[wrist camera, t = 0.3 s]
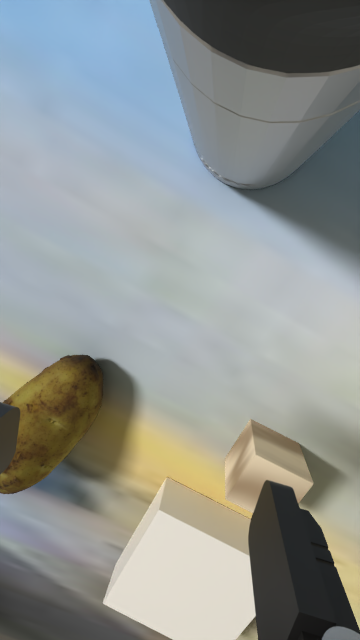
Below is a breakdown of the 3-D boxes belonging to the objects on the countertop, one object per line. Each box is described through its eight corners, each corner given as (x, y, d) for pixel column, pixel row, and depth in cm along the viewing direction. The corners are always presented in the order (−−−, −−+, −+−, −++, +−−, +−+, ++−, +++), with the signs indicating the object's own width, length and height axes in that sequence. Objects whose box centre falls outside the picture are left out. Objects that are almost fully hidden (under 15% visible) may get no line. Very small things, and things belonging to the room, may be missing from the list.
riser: (166, 476, 32) (158, 509, 28) (281, 535, 31) (289, 576, 28) (115, 564, 35) (102, 603, 32) (217, 616, 35) (216, 661, 32)
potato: (140, 409, 30) (111, 467, 22) (42, 457, 33) (-13, 523, 25) (92, 337, 29) (44, 373, 21) (-5, 394, 32) (-78, 444, 24)
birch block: (250, 418, 29) (255, 454, 24) (298, 442, 29) (313, 483, 24) (225, 457, 30) (225, 499, 25) (271, 481, 30) (280, 527, 25)
